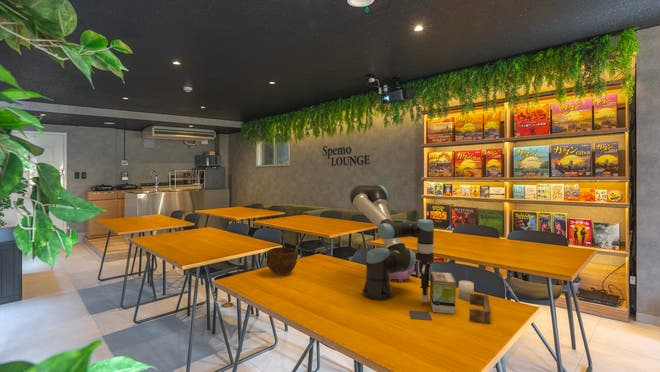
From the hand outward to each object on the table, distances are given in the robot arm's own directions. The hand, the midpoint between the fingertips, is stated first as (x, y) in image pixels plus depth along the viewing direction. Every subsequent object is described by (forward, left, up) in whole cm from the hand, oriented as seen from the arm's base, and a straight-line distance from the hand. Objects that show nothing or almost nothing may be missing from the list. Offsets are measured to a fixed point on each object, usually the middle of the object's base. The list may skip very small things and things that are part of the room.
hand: (425, 301), depth 162 cm
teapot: (-19, +34, -2) cm, 39 cm away
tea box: (+8, 0, -2) cm, 8 cm away
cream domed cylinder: (+18, +17, -2) cm, 25 cm away
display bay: (+24, 0, -2) cm, 24 cm away
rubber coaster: (0, -14, -2) cm, 14 cm away
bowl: (-88, +14, -2) cm, 90 cm away
